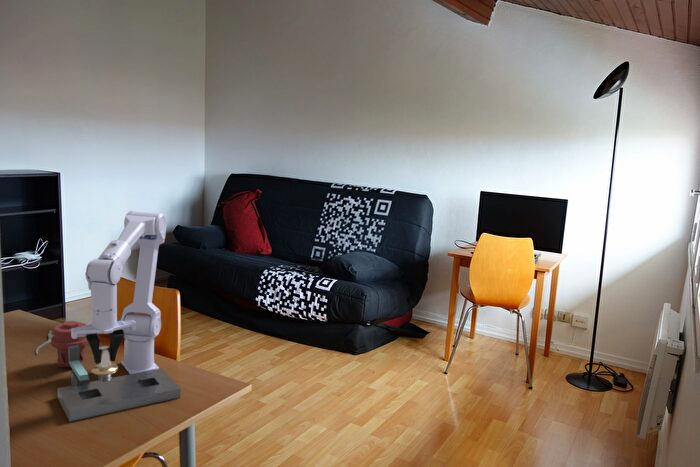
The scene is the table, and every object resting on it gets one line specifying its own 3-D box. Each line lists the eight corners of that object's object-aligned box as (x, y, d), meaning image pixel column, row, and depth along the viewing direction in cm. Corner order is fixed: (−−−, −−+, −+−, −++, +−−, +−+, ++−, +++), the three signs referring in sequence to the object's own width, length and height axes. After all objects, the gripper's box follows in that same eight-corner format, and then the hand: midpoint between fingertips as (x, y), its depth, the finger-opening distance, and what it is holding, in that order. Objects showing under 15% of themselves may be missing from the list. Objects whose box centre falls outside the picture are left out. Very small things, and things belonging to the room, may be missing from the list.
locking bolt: (68, 363, 158) (68, 346, 157) (78, 362, 160) (77, 345, 159) (78, 381, 149) (78, 362, 148) (89, 379, 150) (88, 360, 149)
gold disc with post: (89, 376, 147) (88, 346, 145) (114, 372, 150) (114, 342, 149) (94, 386, 142) (94, 354, 140) (120, 381, 145) (120, 350, 144)
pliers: (37, 355, 170) (26, 333, 186) (37, 358, 170) (26, 335, 186) (73, 350, 175) (60, 328, 191) (73, 352, 176) (60, 331, 191)
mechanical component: (76, 355, 173) (98, 364, 168) (43, 366, 164) (66, 375, 159) (75, 314, 171) (98, 322, 166) (42, 323, 162) (65, 331, 157)
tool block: (52, 386, 152) (51, 374, 152) (153, 367, 168) (153, 356, 167) (69, 422, 136) (69, 408, 135) (180, 397, 151) (180, 385, 151)
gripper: (75, 317, 135) (76, 372, 138) (139, 309, 144) (139, 361, 146) (68, 308, 141) (69, 362, 143) (131, 300, 149) (131, 351, 152)
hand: (104, 361), depth 145 cm, fingers closed on gold disc with post, 3 cm apart
